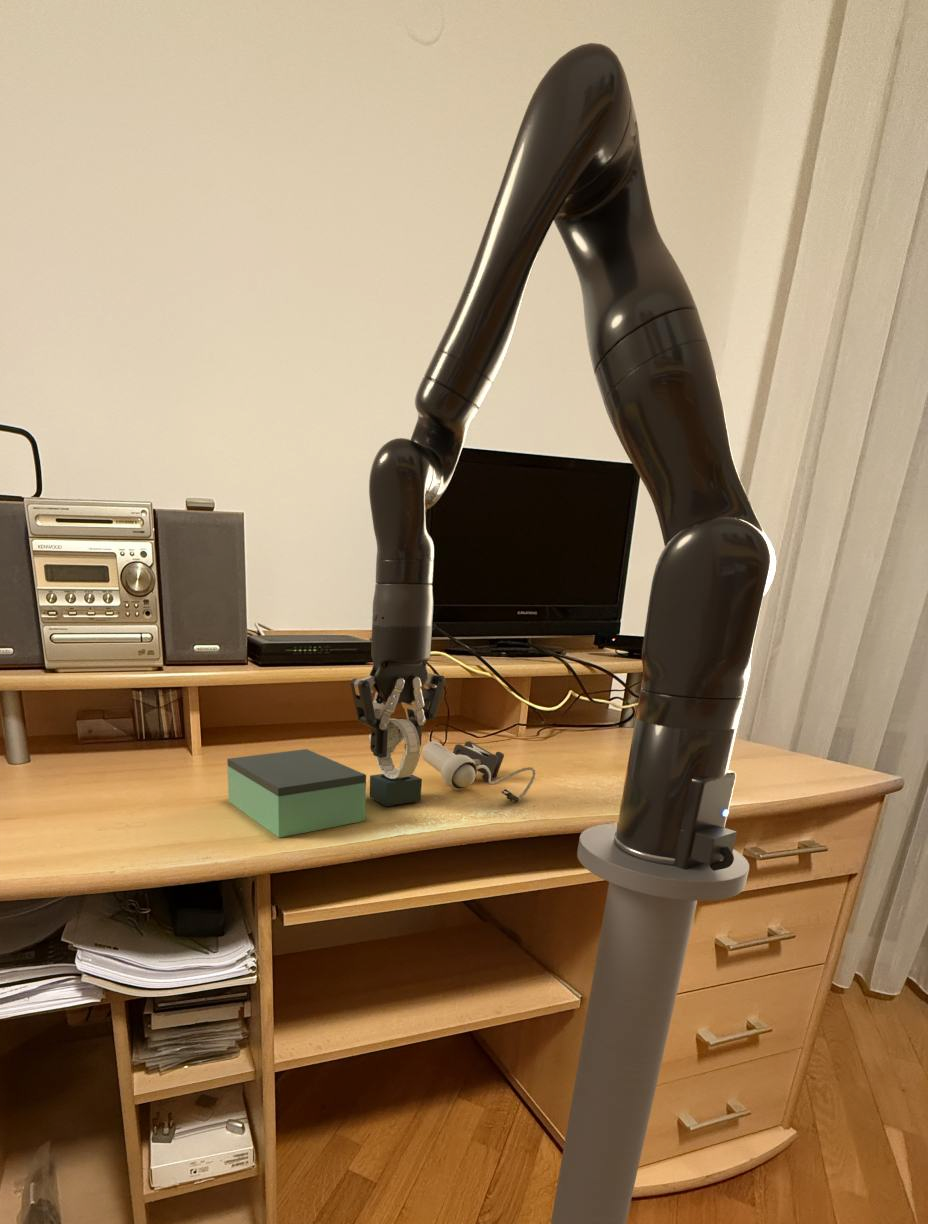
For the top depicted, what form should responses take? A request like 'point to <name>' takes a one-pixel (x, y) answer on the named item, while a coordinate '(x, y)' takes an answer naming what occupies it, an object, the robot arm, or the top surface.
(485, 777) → the clip-on lamp
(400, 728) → the watch
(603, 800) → the top surface
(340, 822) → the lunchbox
